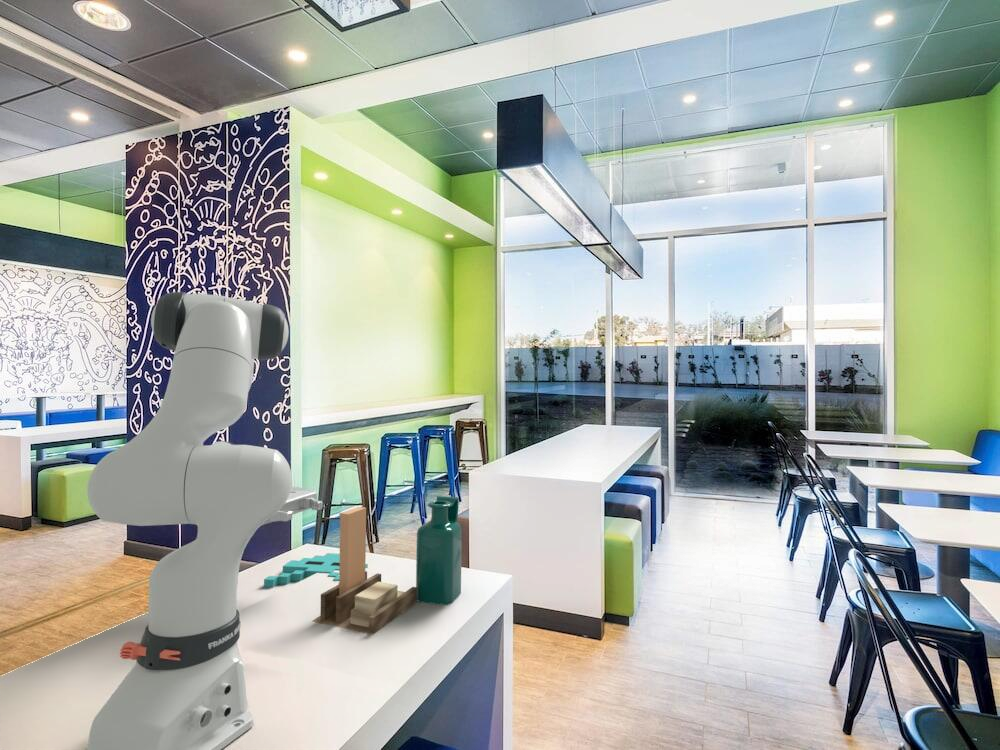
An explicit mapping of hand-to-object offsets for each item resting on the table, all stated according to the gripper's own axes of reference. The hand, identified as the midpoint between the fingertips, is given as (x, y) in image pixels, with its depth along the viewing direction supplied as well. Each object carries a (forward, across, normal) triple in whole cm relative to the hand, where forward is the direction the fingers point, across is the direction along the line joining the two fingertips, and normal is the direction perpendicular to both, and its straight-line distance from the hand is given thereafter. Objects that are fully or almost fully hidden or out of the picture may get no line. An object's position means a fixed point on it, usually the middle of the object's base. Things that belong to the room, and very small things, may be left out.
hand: (305, 511), depth 119 cm
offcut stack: (+19, 0, +18) cm, 26 cm away
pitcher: (+26, +13, +20) cm, 35 cm away
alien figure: (-8, +16, +21) cm, 28 cm away
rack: (+16, -1, +20) cm, 26 cm away
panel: (+12, 0, +18) cm, 22 cm away
